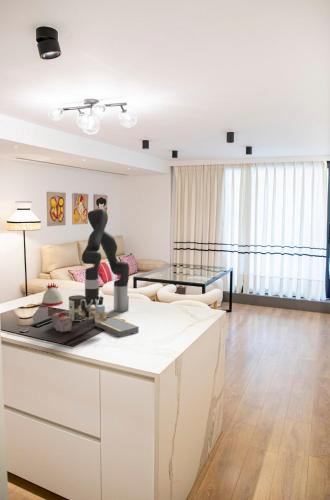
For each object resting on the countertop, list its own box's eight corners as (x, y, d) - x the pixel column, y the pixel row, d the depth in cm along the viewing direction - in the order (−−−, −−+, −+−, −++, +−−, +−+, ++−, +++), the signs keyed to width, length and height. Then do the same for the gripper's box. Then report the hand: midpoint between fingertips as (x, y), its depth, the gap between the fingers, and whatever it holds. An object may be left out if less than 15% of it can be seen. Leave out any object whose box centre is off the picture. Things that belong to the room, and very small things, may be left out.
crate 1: (85, 304, 214) (85, 298, 213) (88, 306, 211) (88, 300, 211) (80, 305, 211) (80, 299, 211) (83, 307, 209) (83, 301, 208)
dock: (113, 321, 224) (113, 316, 224) (138, 331, 207) (138, 326, 207) (95, 325, 215) (95, 320, 215) (119, 336, 198) (119, 331, 198)
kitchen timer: (41, 301, 267) (41, 281, 266) (60, 300, 273) (60, 280, 272) (43, 306, 255) (43, 285, 253) (64, 304, 261) (63, 284, 259)
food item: (74, 331, 205) (74, 314, 204) (61, 334, 200) (60, 316, 199) (62, 325, 215) (61, 309, 214) (49, 328, 210) (49, 311, 208)
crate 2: (101, 310, 202) (101, 304, 202) (104, 312, 200) (104, 305, 199) (95, 312, 200) (95, 305, 199) (99, 313, 197) (99, 307, 197)
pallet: (86, 312, 215) (86, 304, 215) (106, 320, 201) (106, 312, 200) (78, 314, 211) (78, 306, 211) (97, 322, 197) (97, 313, 196)
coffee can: (88, 317, 231) (88, 295, 230) (81, 322, 221) (81, 299, 220) (73, 316, 233) (73, 294, 232) (65, 321, 223) (65, 298, 222)
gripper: (99, 284, 212) (99, 312, 214) (76, 287, 202) (77, 317, 204) (106, 286, 206) (106, 315, 208) (84, 290, 196) (84, 320, 198)
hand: (92, 316), depth 206 cm, fingers closed on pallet, 5 cm apart
